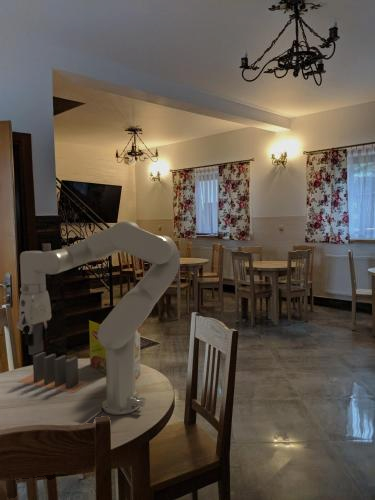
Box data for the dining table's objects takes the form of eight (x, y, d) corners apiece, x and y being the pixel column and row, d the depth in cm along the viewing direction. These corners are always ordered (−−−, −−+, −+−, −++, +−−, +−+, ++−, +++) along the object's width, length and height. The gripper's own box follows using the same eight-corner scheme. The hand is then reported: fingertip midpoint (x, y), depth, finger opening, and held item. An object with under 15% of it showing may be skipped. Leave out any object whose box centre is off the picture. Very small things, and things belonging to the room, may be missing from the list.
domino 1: (43, 350, 129) (42, 321, 129) (32, 355, 125) (31, 324, 124) (39, 349, 130) (38, 320, 129) (28, 354, 125) (27, 324, 125)
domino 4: (67, 381, 144) (66, 355, 144) (58, 386, 140) (57, 360, 139) (64, 380, 145) (63, 355, 144) (54, 386, 140) (54, 359, 140)
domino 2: (46, 377, 148) (45, 352, 147) (37, 382, 143) (36, 356, 143) (43, 377, 149) (42, 351, 148) (33, 382, 144) (32, 356, 143)
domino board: (88, 385, 143) (88, 382, 143) (73, 395, 135) (73, 392, 135) (34, 375, 153) (34, 373, 153) (17, 384, 145) (17, 381, 145)
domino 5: (78, 383, 143) (77, 357, 142) (69, 389, 138) (68, 361, 137) (74, 382, 143) (74, 356, 142) (66, 388, 138) (65, 361, 138)
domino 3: (56, 379, 146) (56, 354, 146) (47, 384, 142) (46, 358, 141) (53, 379, 147) (52, 353, 146) (44, 384, 142) (43, 357, 142)
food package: (89, 367, 162) (88, 320, 160) (91, 366, 162) (90, 319, 161) (108, 377, 150) (106, 327, 149) (110, 376, 151) (109, 327, 150)
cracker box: (129, 392, 137) (128, 335, 135) (113, 391, 138) (112, 334, 137) (141, 377, 151) (140, 324, 149) (127, 375, 152) (126, 324, 150)
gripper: (22, 293, 117) (25, 352, 118) (60, 285, 132) (62, 336, 134) (4, 292, 119) (6, 349, 121) (43, 283, 135) (45, 334, 136)
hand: (35, 342), depth 127 cm, fingers closed on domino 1, 4 cm apart
